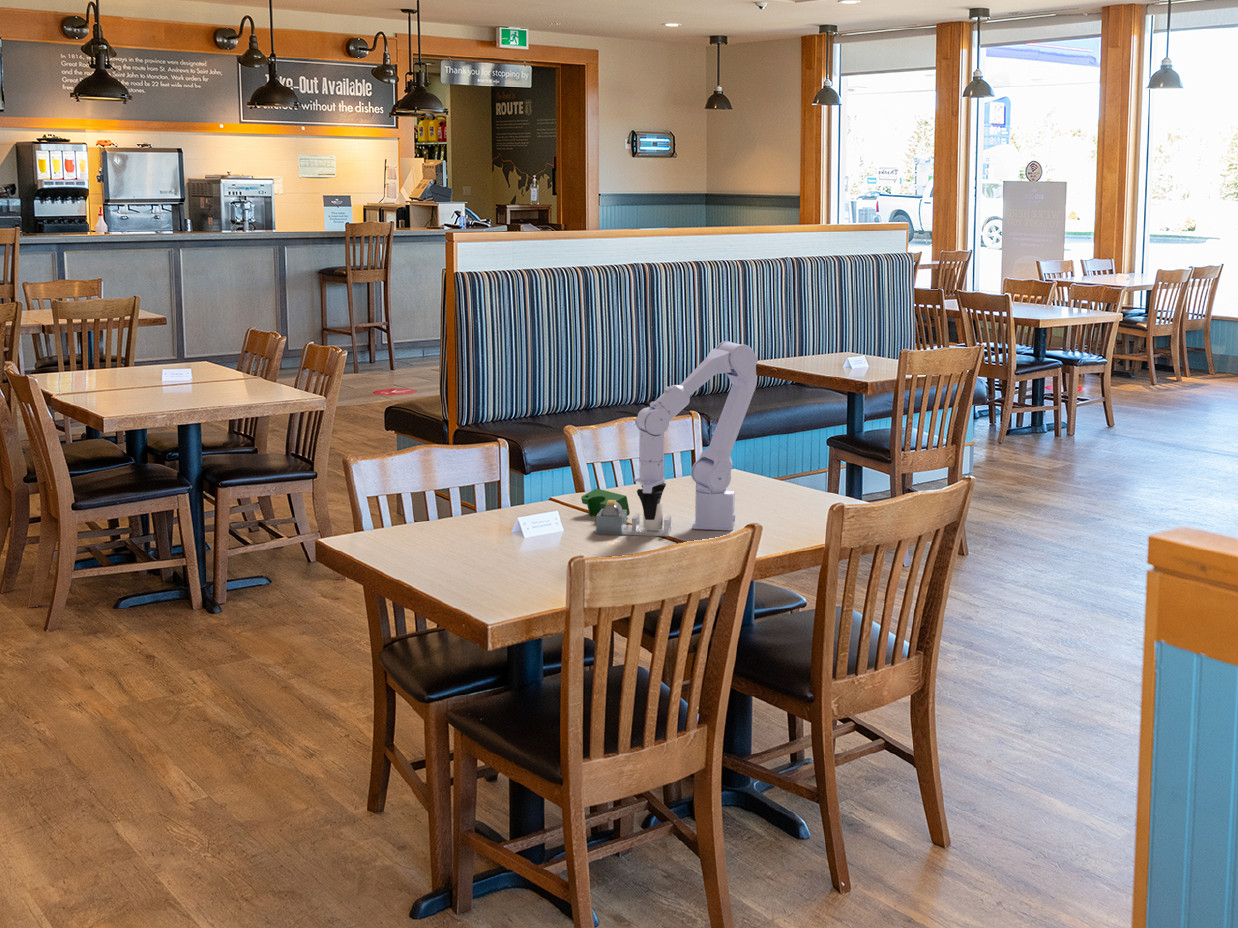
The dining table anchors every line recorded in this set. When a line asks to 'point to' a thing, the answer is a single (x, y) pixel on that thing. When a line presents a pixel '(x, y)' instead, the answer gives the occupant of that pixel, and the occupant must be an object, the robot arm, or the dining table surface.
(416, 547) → the dining table surface
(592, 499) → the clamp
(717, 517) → the robot arm
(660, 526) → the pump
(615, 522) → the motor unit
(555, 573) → the dining table surface
